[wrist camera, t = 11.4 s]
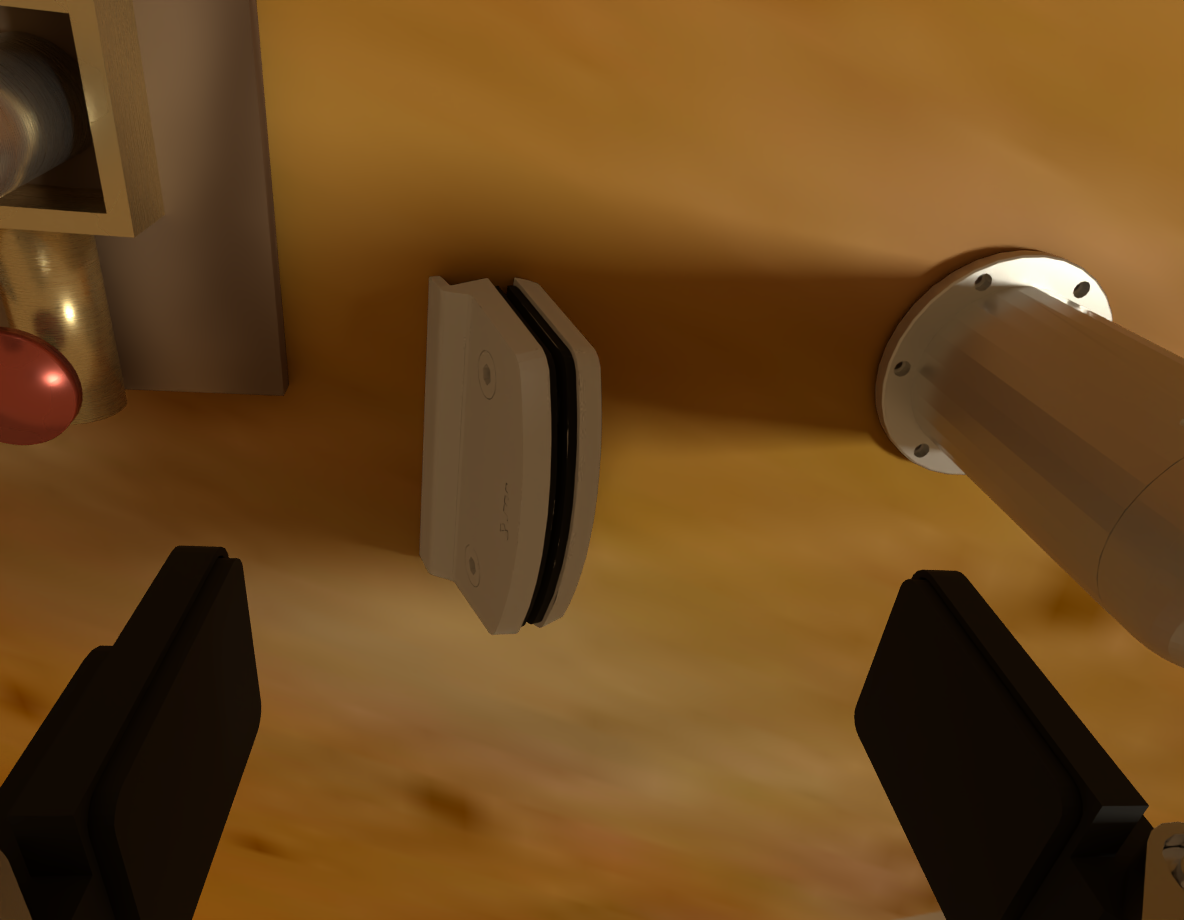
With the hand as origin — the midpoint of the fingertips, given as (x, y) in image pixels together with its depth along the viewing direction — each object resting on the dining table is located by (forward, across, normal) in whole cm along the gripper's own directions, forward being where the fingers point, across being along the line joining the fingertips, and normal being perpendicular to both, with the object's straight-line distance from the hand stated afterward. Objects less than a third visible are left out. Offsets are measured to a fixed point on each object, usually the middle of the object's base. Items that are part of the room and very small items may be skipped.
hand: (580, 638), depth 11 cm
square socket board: (+26, +19, +1) cm, 32 cm away
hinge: (+28, +1, +11) cm, 31 cm away
